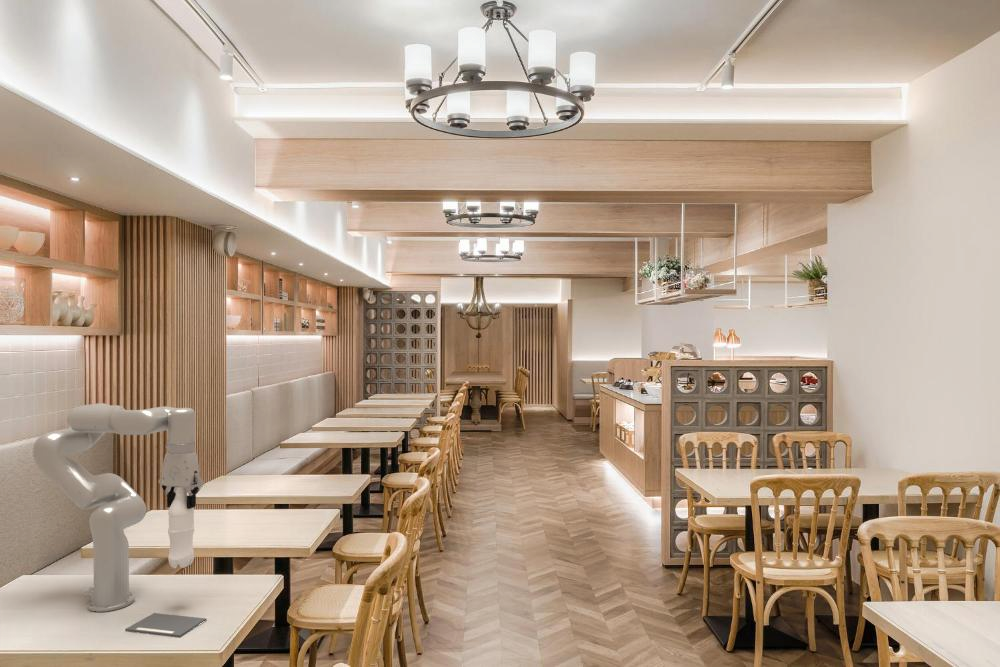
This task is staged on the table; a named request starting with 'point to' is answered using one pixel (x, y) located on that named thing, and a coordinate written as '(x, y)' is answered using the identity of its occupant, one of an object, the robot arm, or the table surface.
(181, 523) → the water bottle
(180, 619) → the board
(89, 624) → the table surface
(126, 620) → the table surface
